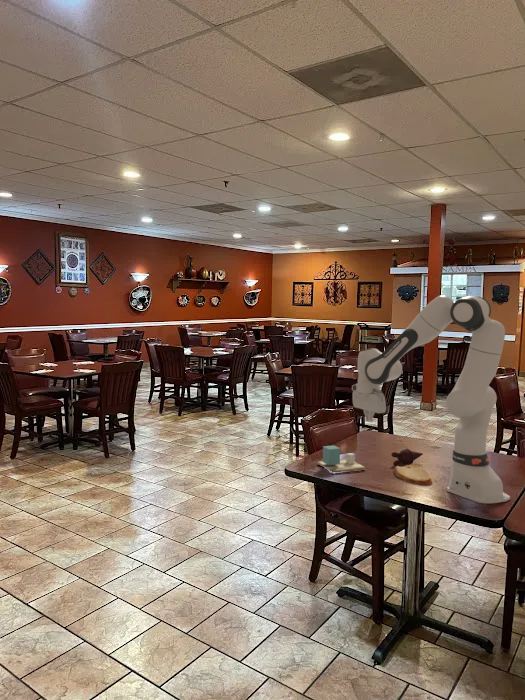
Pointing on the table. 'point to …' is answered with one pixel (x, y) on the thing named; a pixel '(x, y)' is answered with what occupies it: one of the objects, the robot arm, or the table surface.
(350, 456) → the short post
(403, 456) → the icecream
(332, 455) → the teal rectangular block
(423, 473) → the bread slice
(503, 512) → the table surface
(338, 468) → the board
